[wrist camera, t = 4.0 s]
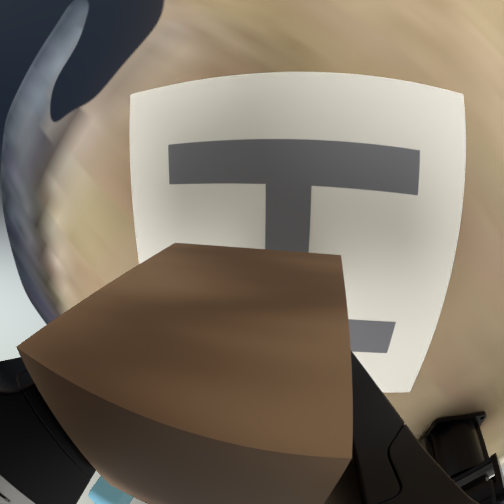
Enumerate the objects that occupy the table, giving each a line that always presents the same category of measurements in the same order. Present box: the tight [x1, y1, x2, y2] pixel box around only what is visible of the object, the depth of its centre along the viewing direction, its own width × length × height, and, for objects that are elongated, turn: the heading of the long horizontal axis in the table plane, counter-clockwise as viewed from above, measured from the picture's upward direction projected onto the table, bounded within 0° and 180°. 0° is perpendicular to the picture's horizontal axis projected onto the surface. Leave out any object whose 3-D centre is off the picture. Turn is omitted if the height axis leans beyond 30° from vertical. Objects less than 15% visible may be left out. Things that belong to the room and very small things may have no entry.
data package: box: [89, 476, 133, 504], centre depth 30 cm, size 12×4×12 cm, turn 163°
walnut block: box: [17, 243, 353, 504], centre depth 6 cm, size 5×5×6 cm
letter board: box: [130, 72, 466, 392], centre depth 16 cm, size 20×20×1 cm
